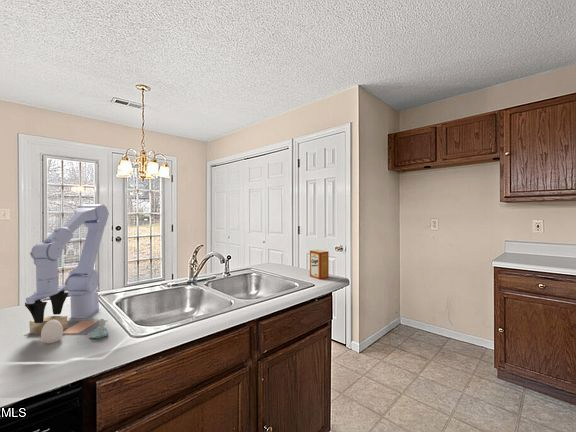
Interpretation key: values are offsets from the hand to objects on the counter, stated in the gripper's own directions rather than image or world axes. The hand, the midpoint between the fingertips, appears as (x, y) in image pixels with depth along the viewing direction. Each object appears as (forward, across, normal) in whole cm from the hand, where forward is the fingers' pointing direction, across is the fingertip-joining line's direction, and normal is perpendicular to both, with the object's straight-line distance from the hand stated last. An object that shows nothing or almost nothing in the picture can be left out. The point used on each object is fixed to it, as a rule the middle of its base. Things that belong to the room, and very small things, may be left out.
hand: (48, 318), depth 98 cm
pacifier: (+5, +5, +20) cm, 21 cm away
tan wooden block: (+4, 0, 0) cm, 4 cm away
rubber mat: (+5, -2, +5) cm, 7 cm away
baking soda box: (+4, -73, +101) cm, 125 cm away
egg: (+5, +8, +8) cm, 12 cm away
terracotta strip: (+4, -2, +9) cm, 10 cm away
